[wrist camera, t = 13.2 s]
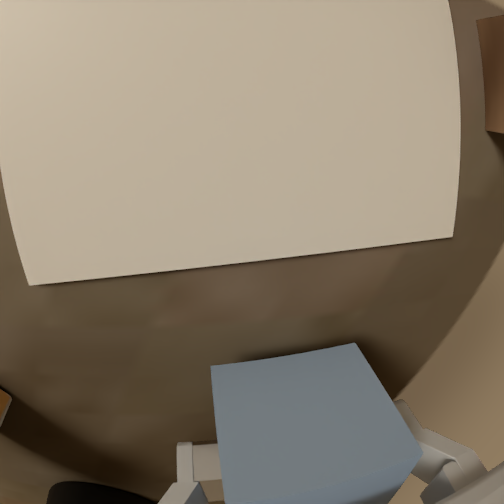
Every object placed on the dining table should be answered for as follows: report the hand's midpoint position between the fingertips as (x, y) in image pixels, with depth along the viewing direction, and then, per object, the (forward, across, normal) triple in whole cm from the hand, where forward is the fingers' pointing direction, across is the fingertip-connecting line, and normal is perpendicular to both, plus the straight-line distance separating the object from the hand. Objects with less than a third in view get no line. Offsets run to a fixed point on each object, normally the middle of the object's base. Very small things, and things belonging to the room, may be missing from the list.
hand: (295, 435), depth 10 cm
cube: (+2, 0, 0) cm, 2 cm away
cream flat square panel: (+3, +1, -12) cm, 13 cm away
